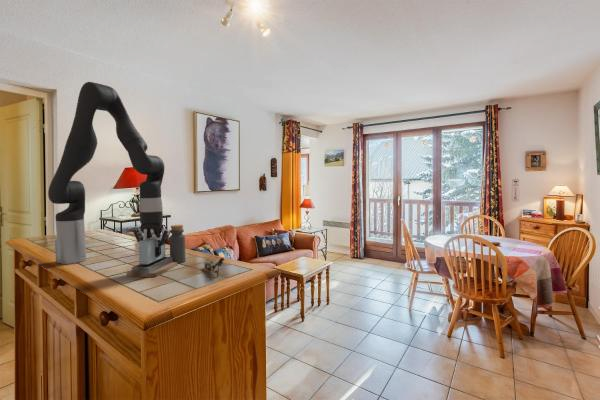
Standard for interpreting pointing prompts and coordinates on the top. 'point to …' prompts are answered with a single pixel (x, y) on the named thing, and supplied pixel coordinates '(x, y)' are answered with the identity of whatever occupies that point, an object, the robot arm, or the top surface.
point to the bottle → (177, 244)
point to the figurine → (215, 265)
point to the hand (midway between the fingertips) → (153, 256)
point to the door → (149, 251)
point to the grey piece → (153, 268)
